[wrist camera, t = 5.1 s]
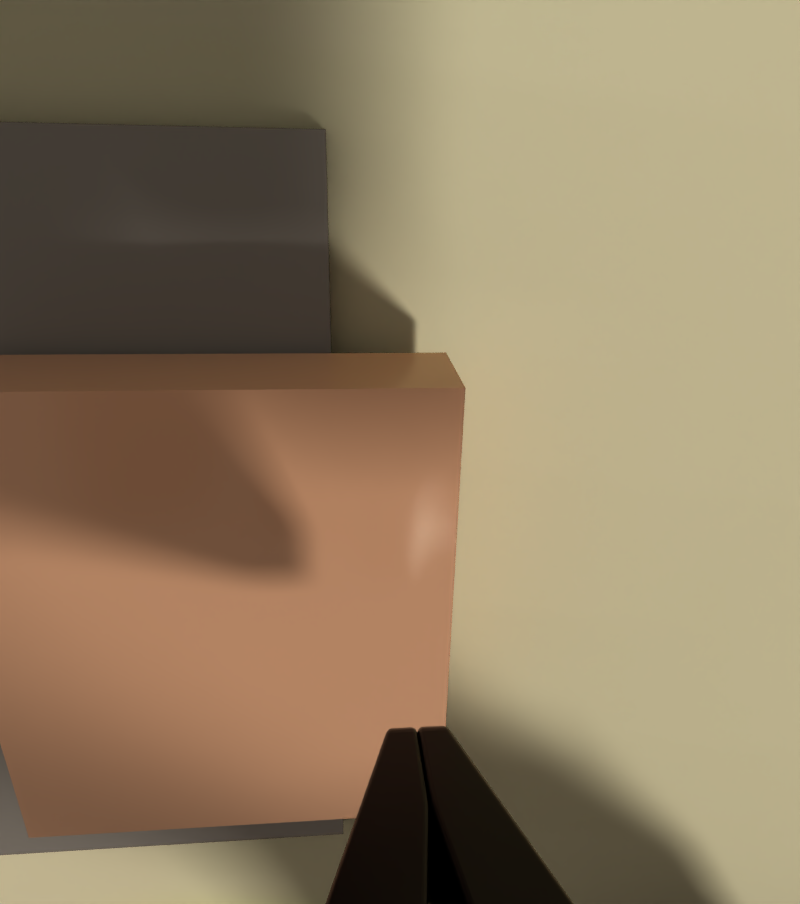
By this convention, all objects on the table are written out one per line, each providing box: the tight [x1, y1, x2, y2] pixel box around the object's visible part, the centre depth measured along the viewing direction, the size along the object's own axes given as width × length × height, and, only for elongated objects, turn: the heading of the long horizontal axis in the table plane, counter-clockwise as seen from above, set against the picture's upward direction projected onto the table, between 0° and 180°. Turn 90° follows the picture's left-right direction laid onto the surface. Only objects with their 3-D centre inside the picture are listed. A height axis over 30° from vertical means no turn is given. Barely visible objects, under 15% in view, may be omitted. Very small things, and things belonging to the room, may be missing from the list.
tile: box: [0, 353, 465, 838], centre depth 12 cm, size 9×2×8 cm
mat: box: [0, 122, 343, 855], centre depth 13 cm, size 16×12×1 cm
